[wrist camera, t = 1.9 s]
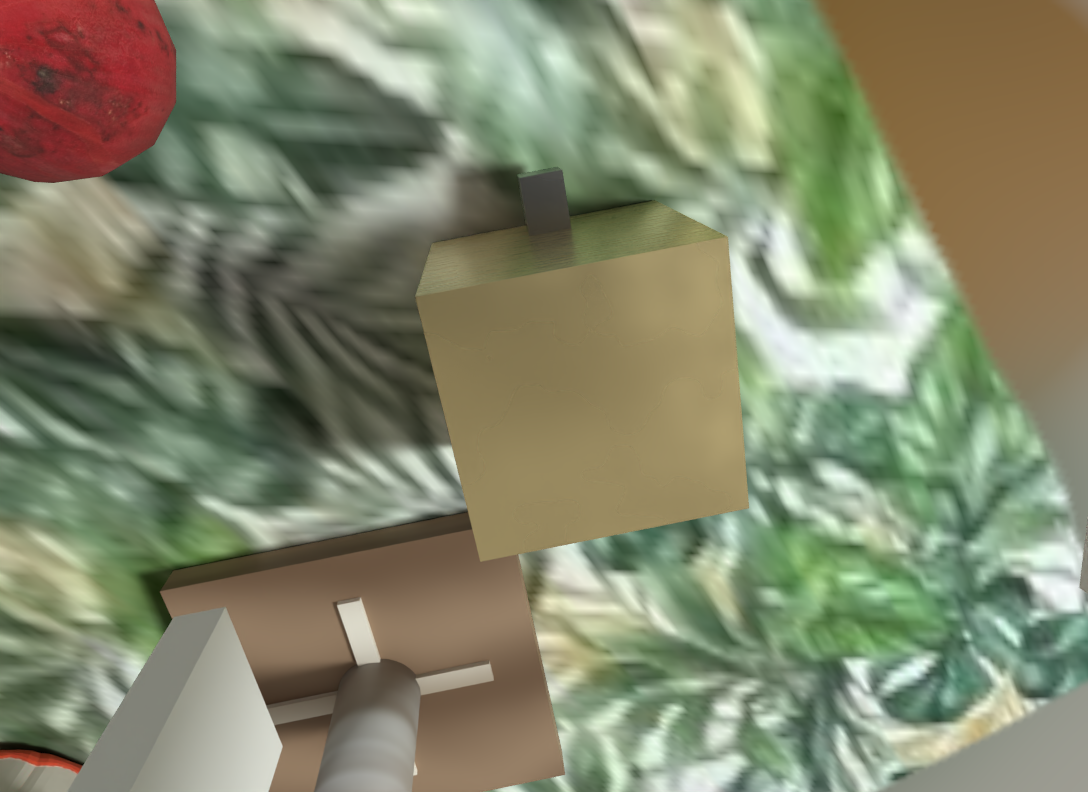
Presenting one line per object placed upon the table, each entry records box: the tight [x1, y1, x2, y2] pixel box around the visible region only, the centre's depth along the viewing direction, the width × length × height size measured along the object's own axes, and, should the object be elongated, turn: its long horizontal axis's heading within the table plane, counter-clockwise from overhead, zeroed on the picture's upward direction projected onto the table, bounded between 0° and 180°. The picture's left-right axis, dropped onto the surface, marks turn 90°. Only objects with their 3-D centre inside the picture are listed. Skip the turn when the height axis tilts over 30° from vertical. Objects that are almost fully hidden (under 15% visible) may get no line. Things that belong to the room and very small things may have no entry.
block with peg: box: [415, 167, 749, 562], centre depth 21 cm, size 10×7×7 cm
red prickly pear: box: [0, 0, 176, 183], centre depth 16 cm, size 6×6×8 cm
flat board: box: [160, 512, 565, 792], centre depth 25 cm, size 12×12×6 cm
